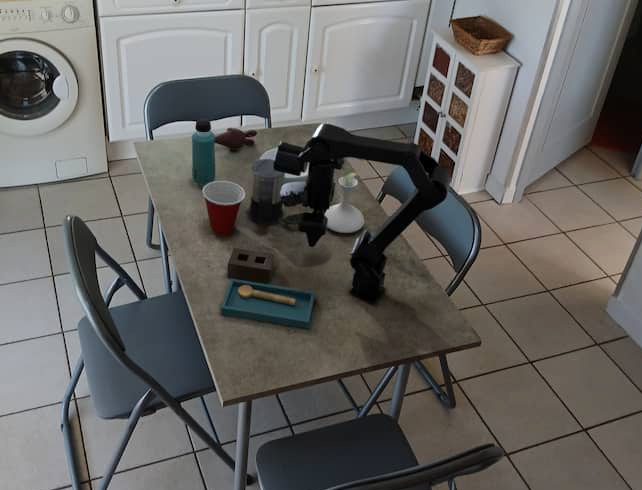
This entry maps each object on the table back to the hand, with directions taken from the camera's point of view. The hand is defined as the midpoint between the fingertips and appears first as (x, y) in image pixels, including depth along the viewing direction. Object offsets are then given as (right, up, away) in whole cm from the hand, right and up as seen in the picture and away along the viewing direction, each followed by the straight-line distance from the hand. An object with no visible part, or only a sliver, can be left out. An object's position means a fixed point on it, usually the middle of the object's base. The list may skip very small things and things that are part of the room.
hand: (314, 234), depth 173 cm
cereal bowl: (-7, +14, +40) cm, 43 cm away
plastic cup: (-24, +1, +20) cm, 31 cm away
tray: (-11, -16, -2) cm, 20 cm away
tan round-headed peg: (-4, -16, -2) cm, 16 cm away
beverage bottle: (-31, +13, +36) cm, 49 cm away
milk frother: (-9, +3, +26) cm, 28 cm away
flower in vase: (+7, +2, +27) cm, 28 cm away
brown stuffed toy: (-25, +24, +52) cm, 63 cm away
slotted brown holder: (-15, -9, +7) cm, 19 cm away
